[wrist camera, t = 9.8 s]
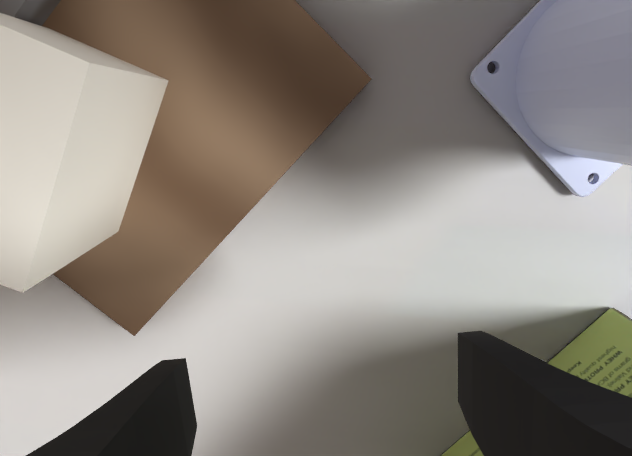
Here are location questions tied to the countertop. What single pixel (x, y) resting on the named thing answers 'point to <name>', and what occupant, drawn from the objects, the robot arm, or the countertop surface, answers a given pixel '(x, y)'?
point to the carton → (65, 147)
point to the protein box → (586, 364)
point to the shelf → (200, 127)
